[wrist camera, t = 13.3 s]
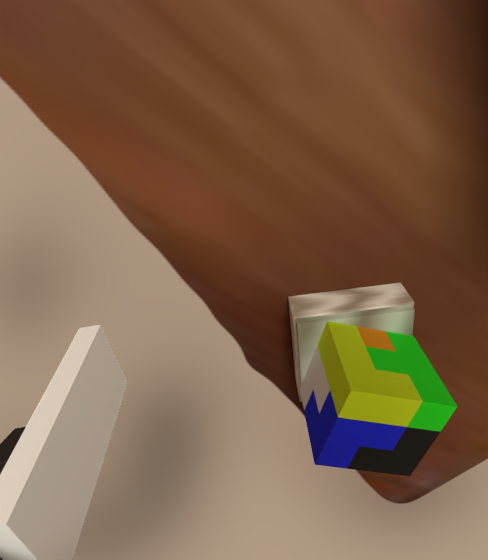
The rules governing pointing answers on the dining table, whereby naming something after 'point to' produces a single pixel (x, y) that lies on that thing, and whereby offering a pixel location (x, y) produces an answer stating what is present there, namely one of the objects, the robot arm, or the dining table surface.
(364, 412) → the puzzle toy
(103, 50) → the dining table surface
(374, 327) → the plinth
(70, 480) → the robot arm
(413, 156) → the dining table surface
